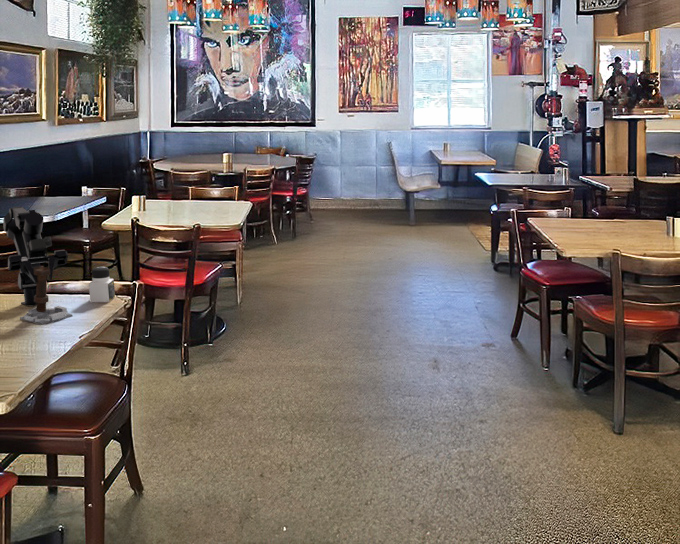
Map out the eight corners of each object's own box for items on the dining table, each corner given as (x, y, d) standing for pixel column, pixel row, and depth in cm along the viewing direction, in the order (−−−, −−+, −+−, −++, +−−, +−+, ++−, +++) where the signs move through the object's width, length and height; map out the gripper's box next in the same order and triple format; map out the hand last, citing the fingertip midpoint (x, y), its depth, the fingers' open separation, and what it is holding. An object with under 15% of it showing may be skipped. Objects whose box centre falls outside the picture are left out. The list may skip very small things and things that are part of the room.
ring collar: (17, 319, 271) (16, 313, 270) (51, 310, 281) (50, 304, 281) (41, 325, 263) (40, 319, 263) (75, 315, 274) (74, 309, 273)
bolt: (38, 315, 269) (38, 272, 265) (28, 311, 271) (29, 268, 267) (53, 311, 273) (54, 269, 269) (43, 307, 276) (44, 265, 272)
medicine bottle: (109, 302, 290) (107, 269, 287) (90, 302, 290) (87, 270, 288) (115, 297, 297) (112, 265, 294) (96, 297, 297) (93, 265, 294)
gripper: (5, 232, 264) (14, 271, 257) (64, 226, 273) (74, 264, 267) (4, 251, 272) (13, 290, 266) (61, 245, 282) (71, 282, 275)
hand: (43, 281), depth 268 cm, fingers closed on bolt, 5 cm apart
